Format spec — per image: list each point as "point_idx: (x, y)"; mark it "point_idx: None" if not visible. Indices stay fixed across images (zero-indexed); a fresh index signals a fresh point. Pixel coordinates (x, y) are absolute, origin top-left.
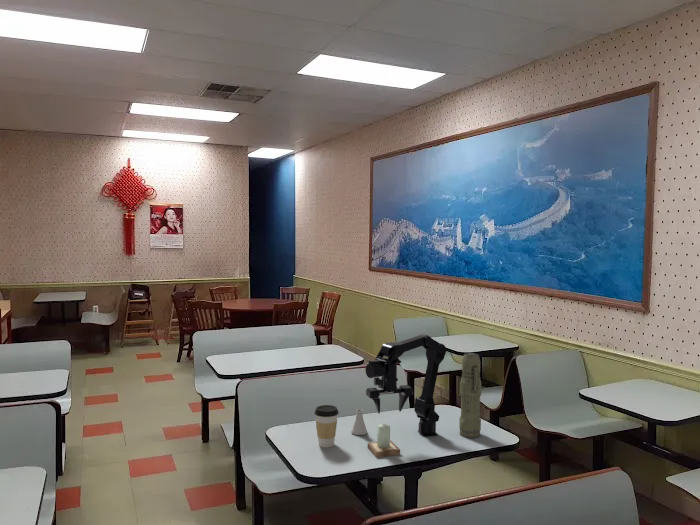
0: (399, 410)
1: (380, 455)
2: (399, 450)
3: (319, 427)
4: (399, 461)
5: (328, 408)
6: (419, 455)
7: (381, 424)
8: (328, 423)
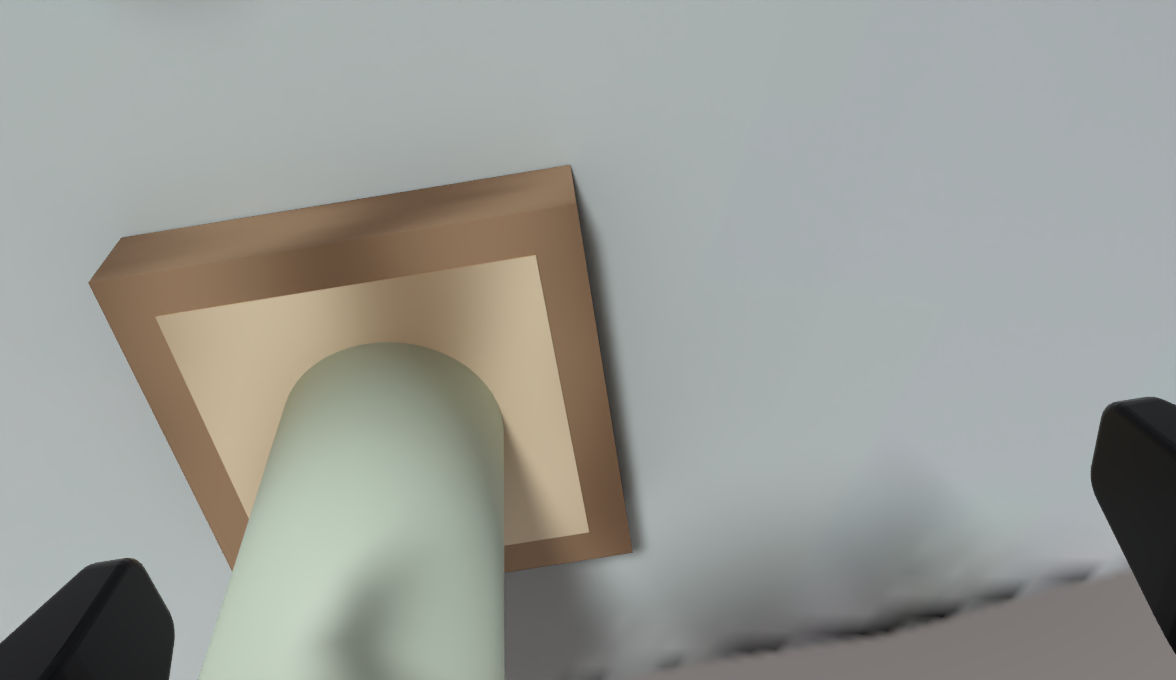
0: (1113, 470)
1: None
2: (620, 546)
3: None
4: (562, 651)
5: None
6: (871, 531)
7: (293, 668)
8: None
